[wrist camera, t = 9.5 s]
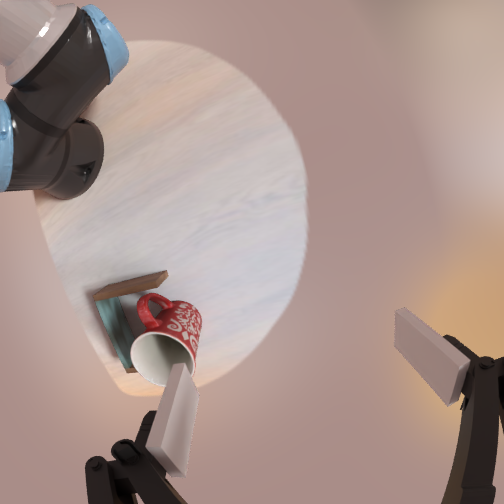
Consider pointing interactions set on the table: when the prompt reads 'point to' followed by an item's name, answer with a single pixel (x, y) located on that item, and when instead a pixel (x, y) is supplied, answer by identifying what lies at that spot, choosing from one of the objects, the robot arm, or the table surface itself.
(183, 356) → the mug
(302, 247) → the table surface
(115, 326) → the dock
